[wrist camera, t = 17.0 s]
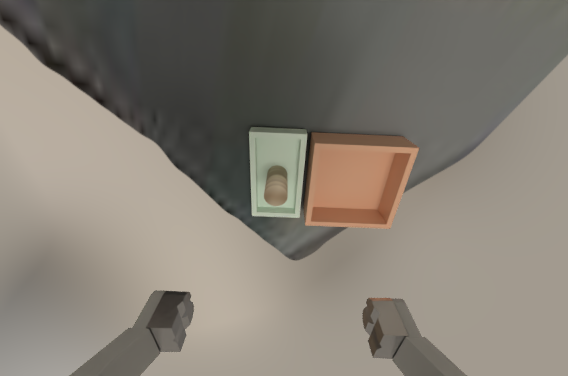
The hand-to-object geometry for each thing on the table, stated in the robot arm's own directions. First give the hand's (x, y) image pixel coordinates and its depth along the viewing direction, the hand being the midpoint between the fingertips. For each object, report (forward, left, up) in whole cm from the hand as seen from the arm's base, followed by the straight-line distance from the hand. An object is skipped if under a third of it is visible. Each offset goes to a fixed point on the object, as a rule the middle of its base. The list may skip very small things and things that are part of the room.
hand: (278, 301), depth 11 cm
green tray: (+11, -1, -35) cm, 37 cm away
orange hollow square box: (+11, +14, -35) cm, 39 cm away
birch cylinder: (+11, -1, -34) cm, 36 cm away
